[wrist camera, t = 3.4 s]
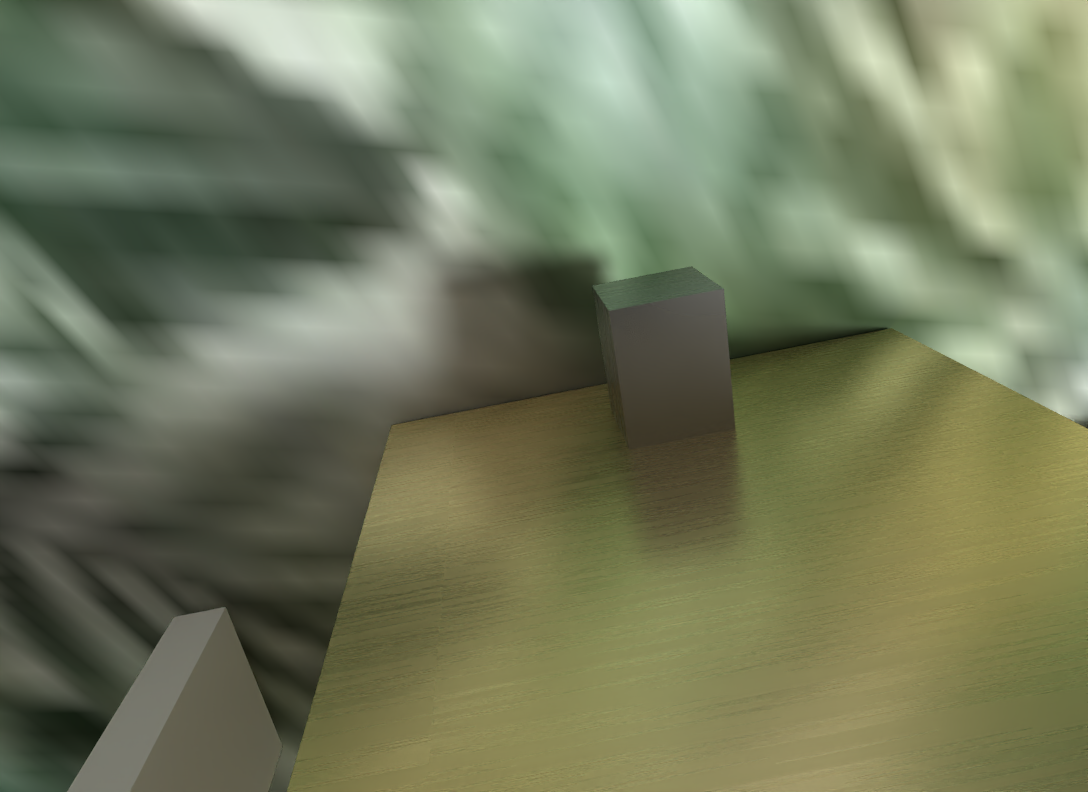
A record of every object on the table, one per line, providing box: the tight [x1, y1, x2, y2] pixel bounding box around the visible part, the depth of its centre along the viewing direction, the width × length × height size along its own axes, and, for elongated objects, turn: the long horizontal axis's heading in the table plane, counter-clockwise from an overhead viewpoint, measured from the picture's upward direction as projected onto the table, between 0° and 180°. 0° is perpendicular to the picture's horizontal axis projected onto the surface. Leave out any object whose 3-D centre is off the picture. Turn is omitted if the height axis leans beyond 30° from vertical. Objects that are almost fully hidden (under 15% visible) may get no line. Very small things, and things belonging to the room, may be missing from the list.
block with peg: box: [287, 267, 1088, 792], centre depth 8 cm, size 10×7×7 cm
